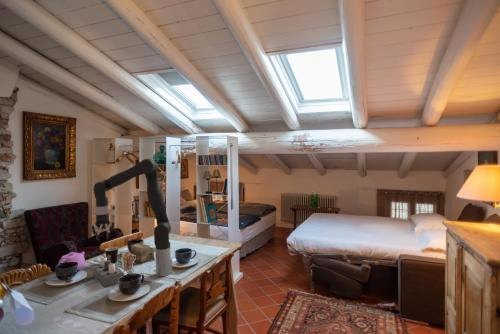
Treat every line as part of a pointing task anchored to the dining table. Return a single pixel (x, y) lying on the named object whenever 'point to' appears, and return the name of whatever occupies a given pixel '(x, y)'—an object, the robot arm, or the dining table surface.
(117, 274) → the console
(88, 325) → the dining table surface
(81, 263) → the teapot
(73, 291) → the dining table surface
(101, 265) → the knob
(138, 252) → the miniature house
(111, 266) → the knob
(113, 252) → the coffee mug
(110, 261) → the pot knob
